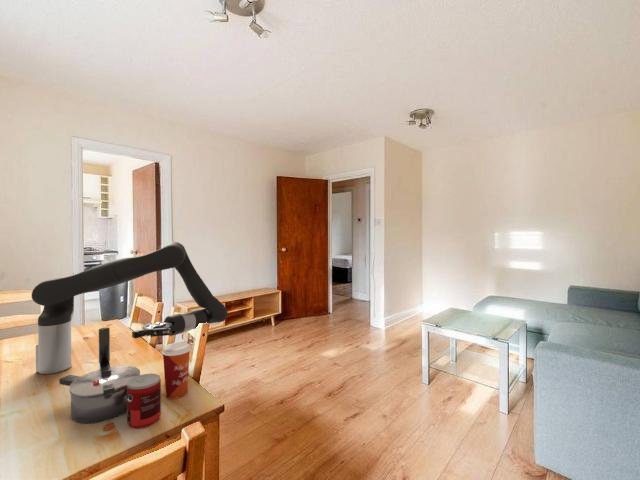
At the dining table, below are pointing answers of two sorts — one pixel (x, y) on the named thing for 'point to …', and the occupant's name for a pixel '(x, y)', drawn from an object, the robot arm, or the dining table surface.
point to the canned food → (143, 400)
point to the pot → (96, 405)
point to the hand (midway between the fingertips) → (133, 335)
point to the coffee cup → (176, 369)
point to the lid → (103, 373)
